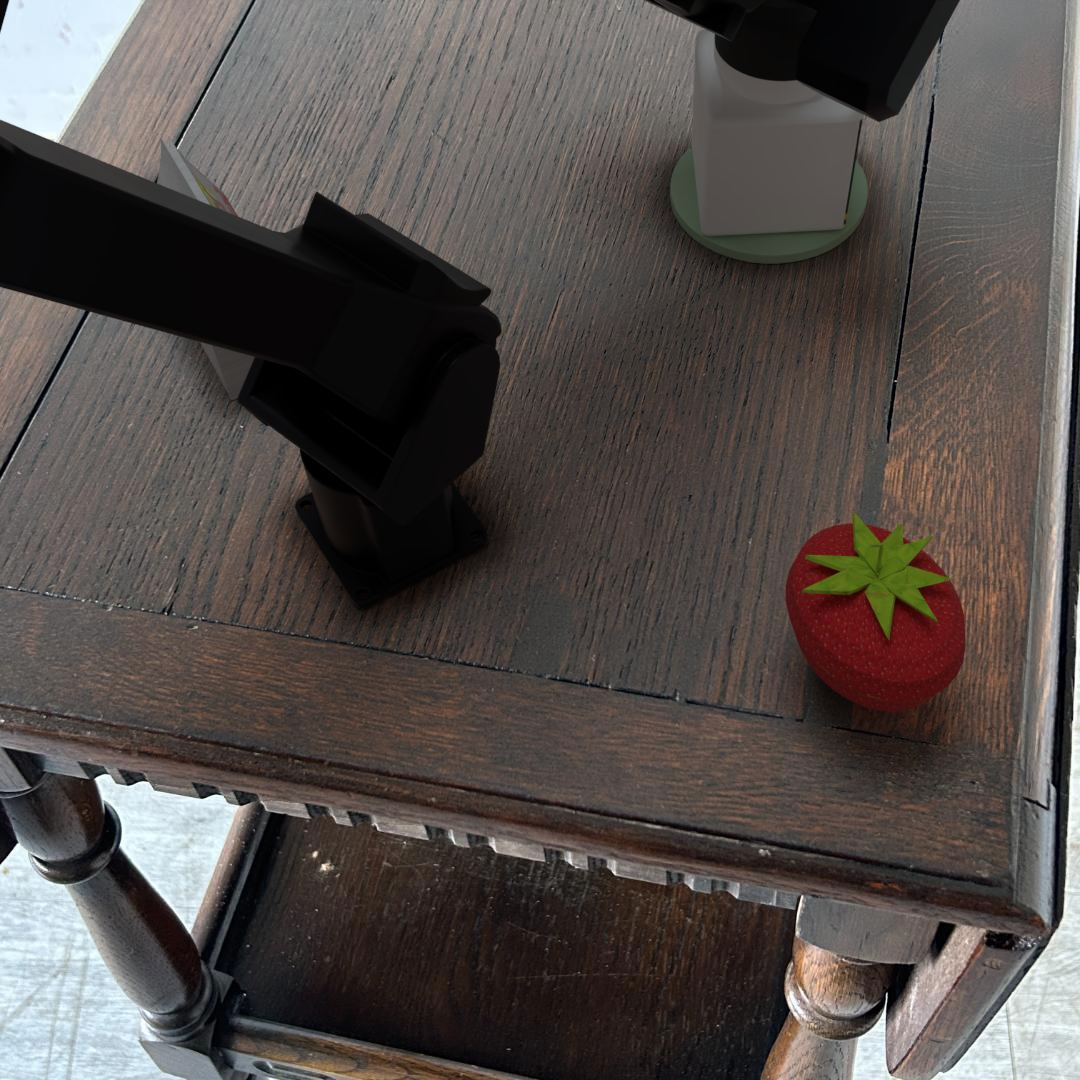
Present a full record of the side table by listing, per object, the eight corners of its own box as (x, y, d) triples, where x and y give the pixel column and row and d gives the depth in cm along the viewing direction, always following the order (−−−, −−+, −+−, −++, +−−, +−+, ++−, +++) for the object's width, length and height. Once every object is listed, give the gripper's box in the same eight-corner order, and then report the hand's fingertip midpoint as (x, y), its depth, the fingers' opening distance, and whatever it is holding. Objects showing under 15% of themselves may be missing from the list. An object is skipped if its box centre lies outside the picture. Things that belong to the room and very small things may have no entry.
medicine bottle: (846, 232, 69) (880, 20, 59) (701, 240, 70) (712, 30, 60) (827, 137, 73) (856, -76, 64) (690, 145, 74) (698, -66, 64)
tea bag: (231, 400, 66) (174, 242, 58) (183, 311, 70) (122, 150, 61) (303, 370, 67) (257, 210, 59) (252, 283, 70) (201, 121, 62)
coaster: (907, 212, 71) (909, 203, 70) (745, 292, 68) (745, 283, 68) (787, 107, 76) (788, 98, 75) (632, 178, 73) (632, 169, 73)
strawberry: (846, 795, 53) (884, 663, 45) (741, 643, 57) (759, 498, 49) (975, 728, 54) (1035, 588, 46) (863, 584, 58) (900, 433, 50)
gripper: (991, -252, 45) (1079, -87, 58) (555, -397, 53) (722, -221, 66) (819, 78, 48) (940, 162, 62) (434, -104, 56) (616, 7, 69)
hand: (800, 16), depth 65 cm, fingers open, 9 cm apart
